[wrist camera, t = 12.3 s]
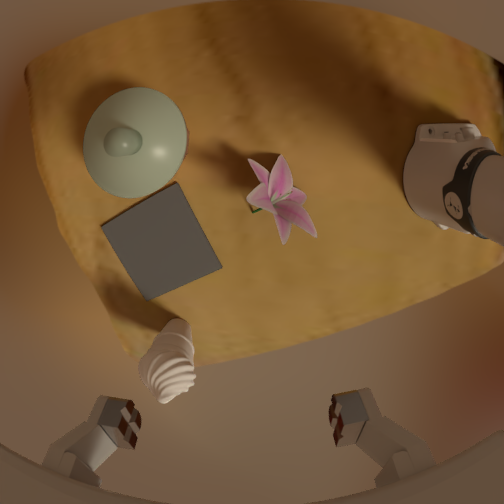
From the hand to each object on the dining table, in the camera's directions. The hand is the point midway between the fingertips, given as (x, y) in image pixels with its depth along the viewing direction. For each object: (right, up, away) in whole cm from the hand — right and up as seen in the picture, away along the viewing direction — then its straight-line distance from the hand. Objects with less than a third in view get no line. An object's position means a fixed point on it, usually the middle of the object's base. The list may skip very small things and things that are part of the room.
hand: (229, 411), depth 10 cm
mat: (-13, +7, +30) cm, 34 cm away
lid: (-13, +19, +18) cm, 29 cm away
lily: (+4, +14, +29) cm, 33 cm away
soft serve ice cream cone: (-12, -7, +36) cm, 38 cm away
